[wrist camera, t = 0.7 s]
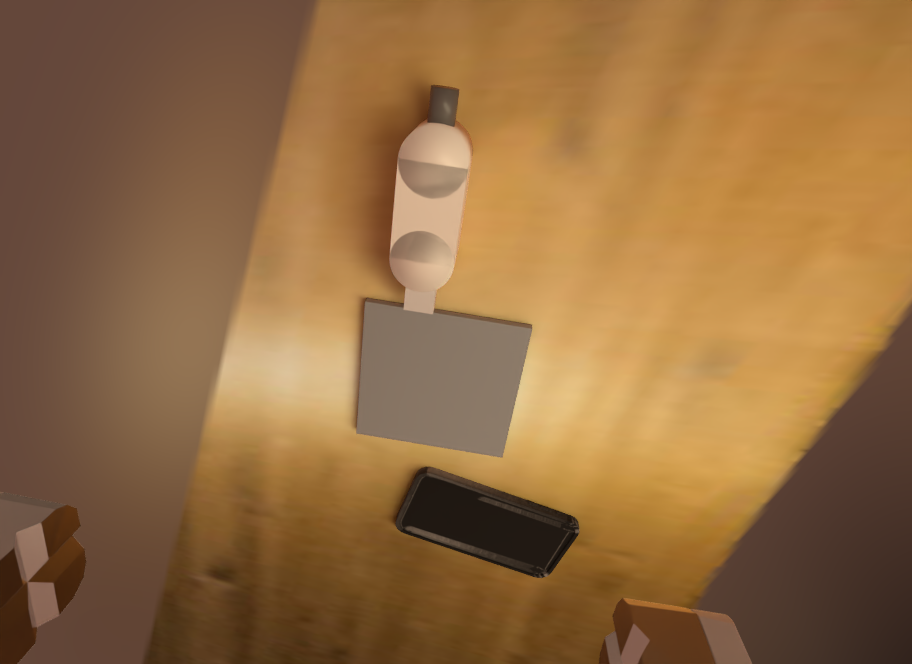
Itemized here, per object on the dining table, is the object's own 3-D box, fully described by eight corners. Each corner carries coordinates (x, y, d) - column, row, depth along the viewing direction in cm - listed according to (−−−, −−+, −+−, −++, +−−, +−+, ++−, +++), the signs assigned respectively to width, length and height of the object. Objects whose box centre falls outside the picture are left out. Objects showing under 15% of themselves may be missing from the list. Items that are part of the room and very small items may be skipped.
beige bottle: (415, 79, 33) (404, 85, 30) (482, 89, 33) (478, 97, 30) (395, 292, 40) (384, 317, 36) (450, 300, 40) (445, 327, 36)
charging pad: (366, 297, 40) (364, 301, 40) (531, 325, 40) (532, 328, 40) (358, 428, 46) (356, 433, 46) (502, 452, 46) (502, 457, 45)
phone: (545, 580, 52) (392, 529, 50) (544, 570, 53) (394, 519, 51) (584, 525, 48) (420, 468, 47) (583, 515, 49) (422, 459, 48)
